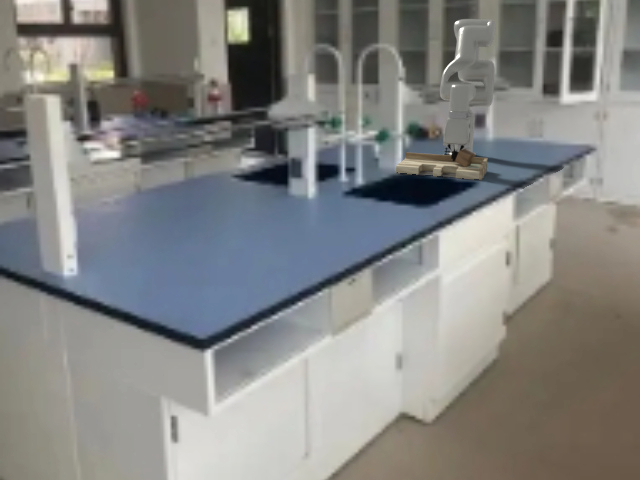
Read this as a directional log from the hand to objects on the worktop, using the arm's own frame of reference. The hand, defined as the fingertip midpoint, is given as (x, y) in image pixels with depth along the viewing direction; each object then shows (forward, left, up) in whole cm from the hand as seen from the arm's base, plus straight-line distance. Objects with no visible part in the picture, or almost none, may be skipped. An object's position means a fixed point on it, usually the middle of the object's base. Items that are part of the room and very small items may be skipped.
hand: (454, 160), depth 287 cm
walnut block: (+1, +3, -1) cm, 4 cm away
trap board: (+4, -5, -4) cm, 7 cm away
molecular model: (-14, 0, -5) cm, 15 cm away
